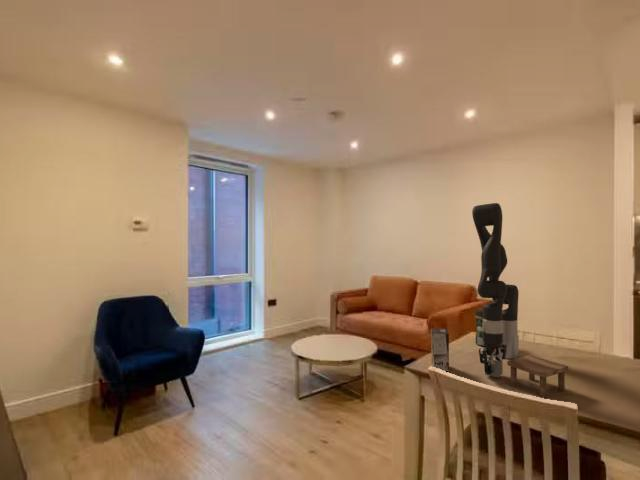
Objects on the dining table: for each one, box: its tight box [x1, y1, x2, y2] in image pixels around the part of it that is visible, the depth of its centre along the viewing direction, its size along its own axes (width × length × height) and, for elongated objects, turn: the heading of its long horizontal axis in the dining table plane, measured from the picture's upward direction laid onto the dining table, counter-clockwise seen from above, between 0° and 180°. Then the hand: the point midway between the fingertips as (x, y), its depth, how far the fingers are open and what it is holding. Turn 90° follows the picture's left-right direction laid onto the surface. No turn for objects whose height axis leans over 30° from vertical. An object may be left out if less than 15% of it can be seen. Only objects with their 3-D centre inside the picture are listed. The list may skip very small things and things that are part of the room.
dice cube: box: [484, 359, 504, 378], centre depth 146 cm, size 5×5×5 cm
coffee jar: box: [474, 308, 485, 347], centre depth 186 cm, size 10×8×19 cm
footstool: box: [506, 354, 569, 399], centre depth 135 cm, size 14×14×9 cm
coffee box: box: [430, 327, 450, 373], centre depth 156 cm, size 9×6×16 cm
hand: (493, 372), depth 146 cm, fingers closed on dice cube, 5 cm apart
